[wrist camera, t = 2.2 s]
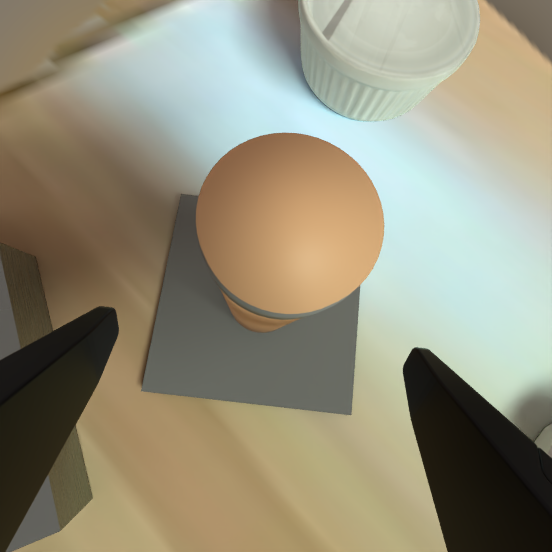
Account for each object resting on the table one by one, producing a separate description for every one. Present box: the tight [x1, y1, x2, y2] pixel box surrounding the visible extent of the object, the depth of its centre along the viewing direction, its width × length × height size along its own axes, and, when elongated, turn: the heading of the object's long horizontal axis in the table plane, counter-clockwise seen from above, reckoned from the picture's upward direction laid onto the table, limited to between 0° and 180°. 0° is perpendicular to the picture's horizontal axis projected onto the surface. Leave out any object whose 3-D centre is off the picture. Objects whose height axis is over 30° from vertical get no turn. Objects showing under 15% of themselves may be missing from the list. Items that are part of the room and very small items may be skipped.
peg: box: [196, 133, 384, 333], centre depth 13 cm, size 4×4×13 cm
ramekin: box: [298, 0, 480, 122], centre depth 22 cm, size 11×11×5 cm
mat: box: [141, 194, 360, 415], centre depth 20 cm, size 12×12×1 cm
